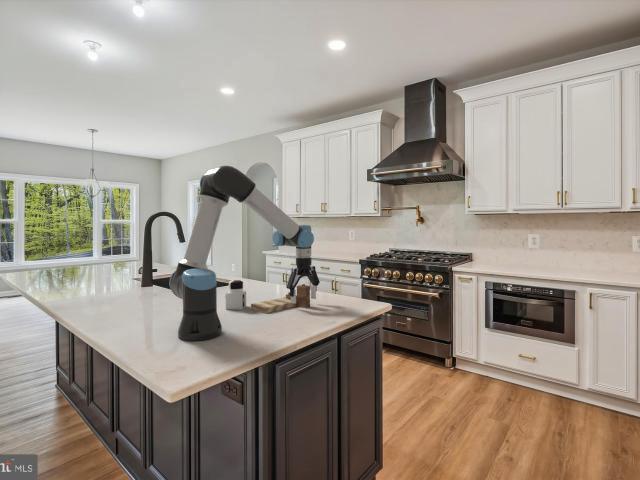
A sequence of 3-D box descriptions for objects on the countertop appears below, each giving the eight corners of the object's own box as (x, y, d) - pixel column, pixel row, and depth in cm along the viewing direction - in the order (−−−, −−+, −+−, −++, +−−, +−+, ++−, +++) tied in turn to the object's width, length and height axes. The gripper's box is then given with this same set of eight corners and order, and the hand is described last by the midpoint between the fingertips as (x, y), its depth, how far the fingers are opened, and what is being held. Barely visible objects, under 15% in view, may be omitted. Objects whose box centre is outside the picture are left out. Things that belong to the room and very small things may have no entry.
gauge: (304, 308, 171) (304, 285, 171) (284, 303, 180) (284, 282, 180) (310, 306, 174) (310, 284, 174) (290, 302, 183) (290, 281, 183)
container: (246, 306, 175) (246, 279, 174) (241, 310, 167) (241, 282, 167) (231, 305, 176) (230, 279, 175) (225, 309, 168) (225, 281, 167)
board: (265, 313, 161) (265, 308, 161) (250, 309, 169) (250, 304, 169) (306, 303, 180) (306, 298, 180) (291, 300, 188) (291, 295, 187)
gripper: (289, 259, 162) (289, 306, 163) (326, 255, 180) (326, 297, 181) (278, 258, 167) (278, 303, 168) (315, 254, 185) (315, 295, 186)
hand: (303, 300), depth 174 cm, fingers open, 13 cm apart
